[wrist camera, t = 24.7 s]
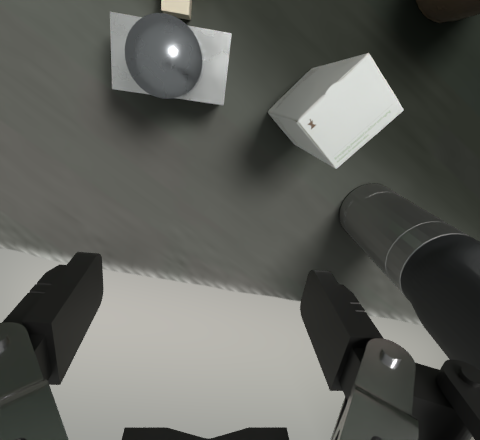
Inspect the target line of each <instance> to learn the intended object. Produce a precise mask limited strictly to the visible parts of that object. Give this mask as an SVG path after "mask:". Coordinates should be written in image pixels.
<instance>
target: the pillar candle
mask: <svg viewBox="0 0 480 440" xmlns="http://www.w3.org/2000/svg"><path fill="white" fill-rule="evenodd" d="M416 2H417V5H418V7H419V9H420V10H421V12H422V13H423V14H424V15H425V16H426V17H427V18H428V19H430V20H432V21H434V22H437V23H443V22H447V21H456V20H460V19H463V18H466V17H469V16H474V15H477V14H480V0H416Z"/></svg>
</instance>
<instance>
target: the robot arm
mask: <svg viewBox="0 0 480 440" xmlns="http://www.w3.org/2000/svg"><path fill="white" fill-rule="evenodd" d="M339 217H340V222H341V225H342V227H343V228H344V230H345V231H346V232H347V233H348V234H349V235H350V236H351V237H352V238H353V239H354V241H355V242H356V243H357V244H358V245H359V246H360V247H361V248H362V249H363V251H364V252H365V253H366V254H367V255H368V256H369V257H370V258H371V259H372V260H373V262H374V263H375V264H376V265H377V266H378V267H379V268H380V269H381V270H382V271H383V273H384V274H385V275H386V276H387V277H388V278H389V279H390V280H391V281H392V282H393V283H394V284H395V286H396V287H397V288H398V289H399V290H400V291H401V292H402V293H403V294H404V295H405V296H406V298H407V299H408V300H409V301H410V302H411V304H412V306H413V308H414V310H415V312H416V314H417V316H418V317H419V319H420V321H421V323H422V324H423V326H424V327H425V328H426V330H427V331H428V332H429V334H430V335H431V336H432V337H433V339H434V340H435V341H436V343H437V344H438V345H439V346H440V348H441V349H442V350H443V351H444V353H445V354H446V355H447V356H448V358H449V359H450V360H447V361H445V363H444V364H443V366H442V367H441V369H440V370H438V369H434V368H431V367H428V366H424V365H421V364H418V363H415V362H414V360H413V358H412V357H411V355H410V354H409V353H408V352H407V351H406V350H405V349H404V348H402V347H401V346H399V345H398V344H396V343H394V342H392V341H390V340H386V339H384V338H383V337H382V336H381V334H380V333H379V331H378V330H377V328H376V327H375V325H374V324H373V322H372V321H371V319H370V318H369V316H368V315H367V313H366V312H364V311H365V310H364V309H363V307H362V306H361V304H359V301H358V300H357V298H356V297H355V296H354V294H353V293H352V292H351V291H350V290H348V289H347V288H346V287H345V286H344V285H341V284H338V282H337V281H336V279H335V278H334V276H333V274H332V273H331V272H330V271H319V270H311V271H310V272H309V274H308V277H307V281H306V285H305V288H304V292H303V296H302V299H301V306H300V310H301V316H302V319H303V322H304V324H305V327H306V329H307V332H308V335H309V337H310V339H311V342H312V345H313V347H314V350H315V353H316V355H317V358H318V360H319V363H320V365H321V368H322V371H323V373H324V376H325V378H326V381H327V384H328V386H329V389H330V390H331V391H343V392H344V394H345V399H344V401H343V404H342V407H341V410H340V413H339V416H338V419H337V422H336V425H335V428H334V431H333V434H332V437H331V440H470V439H471V437H472V436H473V437H474V439H475V440H480V242H479V241H477V240H475V239H474V238H472V237H470V236H468V235H467V234H465V233H463V232H462V231H460V230H458V229H457V228H455V227H453V226H451V225H450V224H448V223H446V222H444V221H443V220H441V219H439V218H438V217H436V216H434V215H433V214H431V213H429V212H428V211H426V210H424V209H422V208H421V207H419V206H417V205H416V204H414V203H412V202H411V201H409V200H407V199H406V198H404V197H402V196H401V195H399V194H397V193H396V192H394V191H392V190H391V189H389V188H387V187H386V186H383V185H381V184H375V183H373V184H366V185H362V186H360V187H358V188H356V189H355V190H353V191H352V192H351V193H350V194H349V195H348V196H347V197H346V198H345V200H344V201H343V203H342V206H341V208H340V213H339ZM102 296H103V273H102V257H101V255H100V254H97V253H83V252H77V253H76V254H75V255H74V257H73V258H72V259H71V260H70V262H69V263H68V264H67V265H58V266H56V267H55V268H53V269H51V270H50V271H48V272H46V273H45V274H44V275H43V277H42V278H41V279H40V280H39V281H38V282H37V285H35V286H34V287H33V288H32V289H31V290H30V293H28V294H27V295H26V296H25V297H24V298H23V299H22V301H21V302H20V303H19V304H18V305H17V306H16V307H15V308H14V310H13V311H12V312H11V313H10V314H9V315H8V317H7V318H6V319H5V320H4V321H3V322H2V323H0V440H68V437H67V434H66V431H65V428H64V426H63V423H62V420H61V417H60V414H59V411H58V409H57V406H56V403H55V400H54V397H53V394H52V392H51V389H50V386H49V384H51V385H55V384H56V385H59V384H61V381H62V380H63V378H64V376H65V374H66V372H67V370H68V368H69V366H70V364H71V362H72V360H73V358H74V356H75V354H76V352H77V350H78V348H79V346H80V344H81V342H82V340H83V338H84V336H85V334H86V332H87V330H88V328H89V326H90V324H91V322H92V320H93V318H94V316H95V314H96V312H97V310H98V308H99V306H100V304H101V301H102ZM122 440H289V437H288V432H287V428H246V429H243V430H240V431H236V432H232V433H229V434H225V435H222V436H218V437H215V438H211V439H206V438H201V437H198V436H195V435H191V434H187V433H184V432H180V431H177V430H173V429H170V428H125V429H124V433H123V437H122Z"/></svg>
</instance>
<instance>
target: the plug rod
mask: <svg viewBox="0 0 480 440" xmlns="http://www.w3.org/2000/svg"><path fill="white" fill-rule="evenodd" d="M191 6H192V0H161V11H162V12H163V13H166V14H169V15H172V16H175V17H177V18H181V19H186V20H191Z"/></svg>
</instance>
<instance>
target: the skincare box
mask: <svg viewBox="0 0 480 440" xmlns="http://www.w3.org/2000/svg"><path fill="white" fill-rule="evenodd" d="M403 110H404V109H403V108H402V106H401V104H400V103H399V101H398V99H397V98H396V96H395V94H394V93H393V91H392V89H391V88H390V86H389V85H388V83H387V81H386V80H385V78H384V76H383V75H382V73H381V72H380V70H379V68H378V67H377V65H376V64H375V62H374V60H373V59H372V57H371V56H370V54H369V53H367V54H364V55H360V56H356V57H352V58H349V59H345V60H341V61H338V62H334V63H330V64H327V65H323V66H319V67H315V68H312V69H311V70H309V71H308V72H307V73H306V74H305V75H304V76H303V77H302V78H301V79H300V80H299V81H298V82H297V83H296V84H295V85H294V86H293V87H292V88H291V89H290V90H289V91H288V92H286V93H285V94H284V95H283V96H282V97H281V98H280V99H279V100H278V101H277V102H276V103H275V104H274V105H273V106H272V107H271V108H270V109H269V111H268V114H269V115H270V116H271V117H272V119H273V120H274V121H275V122H276V123H277V125H278V126H279V127H280V128H281V130H282V131H283V132H284V133H285V134H286V135H287V137H288V138H289V139H290V140H291V141H292V142H293V144H294V145H296V146H298V147H299V148H301V149H303V150H305V151H306V152H308V153H310V154H311V155H313V156H315V157H317V158H318V159H320V160H322V161H323V162H325V163H327V164H329V165H330V166H332V167H334V168H335V169H337V168H338V167H339V166H340V165H341V164H342V163H344V162H345V161H346V160H347V159H348V158H349V157H350V156H352V155H353V154H354V153H355V152H356V151H357V150H359V149H360V148H361V147H362V146H363V145H364V144H366V143H367V142H368V141H369V140H370V139H371V138H372V137H374V136H375V135H376V134H377V133H378V132H379V131H381V130H382V129H383V128H384V127H385V126H386V125H388V124H389V123H390V122H391V121H392V120H393V119H394V118H395V117H397V116H398V115H399V114H400V113H401V112H402V111H403Z"/></svg>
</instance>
